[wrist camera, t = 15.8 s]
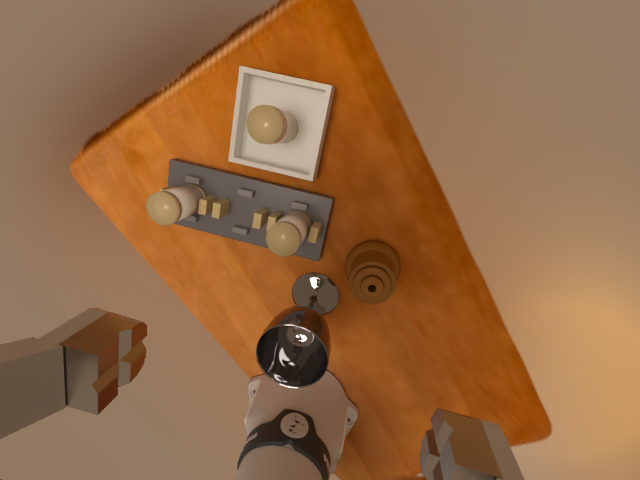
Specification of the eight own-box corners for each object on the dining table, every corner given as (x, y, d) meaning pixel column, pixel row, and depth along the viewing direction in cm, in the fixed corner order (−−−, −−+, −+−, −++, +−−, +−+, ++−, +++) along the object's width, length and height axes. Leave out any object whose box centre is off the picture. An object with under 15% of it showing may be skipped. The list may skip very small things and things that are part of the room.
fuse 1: (206, 215, 47) (176, 229, 40) (179, 208, 47) (145, 220, 40) (209, 187, 46) (178, 196, 39) (181, 180, 46) (147, 188, 39)
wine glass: (319, 260, 48) (296, 311, 34) (352, 301, 49) (343, 368, 35) (278, 288, 50) (241, 347, 36) (310, 327, 51) (286, 399, 37)
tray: (316, 178, 45) (312, 181, 42) (237, 159, 45) (228, 161, 43) (335, 89, 41) (332, 85, 38) (248, 70, 42) (239, 65, 39)
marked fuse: (301, 114, 42) (285, 108, 35) (295, 147, 43) (278, 148, 36) (270, 106, 42) (249, 100, 35) (265, 139, 44) (243, 139, 36)
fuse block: (320, 257, 48) (314, 269, 44) (171, 219, 50) (152, 226, 45) (334, 197, 45) (329, 203, 41) (175, 158, 47) (156, 160, 43)
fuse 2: (308, 241, 46) (295, 260, 39) (280, 233, 46) (263, 251, 39) (314, 214, 44) (302, 228, 37) (285, 206, 45) (269, 219, 38)
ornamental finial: (395, 291, 48) (343, 284, 49) (403, 242, 45) (349, 235, 46) (398, 321, 40) (337, 311, 41) (409, 263, 38) (344, 255, 39)
